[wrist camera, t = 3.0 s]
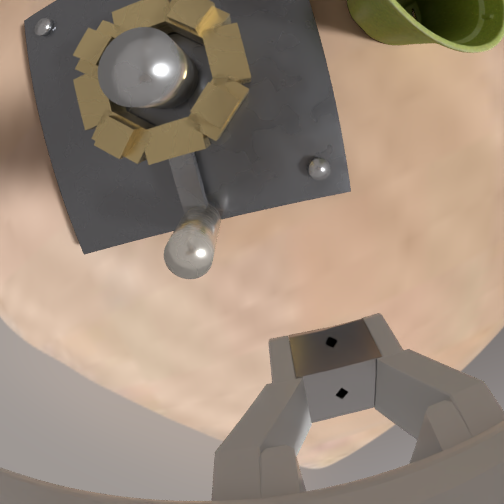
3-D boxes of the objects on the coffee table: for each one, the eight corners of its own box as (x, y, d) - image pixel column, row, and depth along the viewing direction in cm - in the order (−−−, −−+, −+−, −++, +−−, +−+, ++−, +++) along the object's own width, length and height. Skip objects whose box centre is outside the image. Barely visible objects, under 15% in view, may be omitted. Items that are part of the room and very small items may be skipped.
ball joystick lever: (82, 41, 16) (32, 24, 10) (226, -9, 15) (219, -53, 9) (141, 250, 22) (110, 295, 16) (281, 217, 21) (295, 257, 15)
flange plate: (34, 23, 16) (-25, 8, 9) (281, -61, 14) (294, -116, 7) (91, 246, 24) (46, 294, 17) (344, 186, 22) (385, 219, 15)
